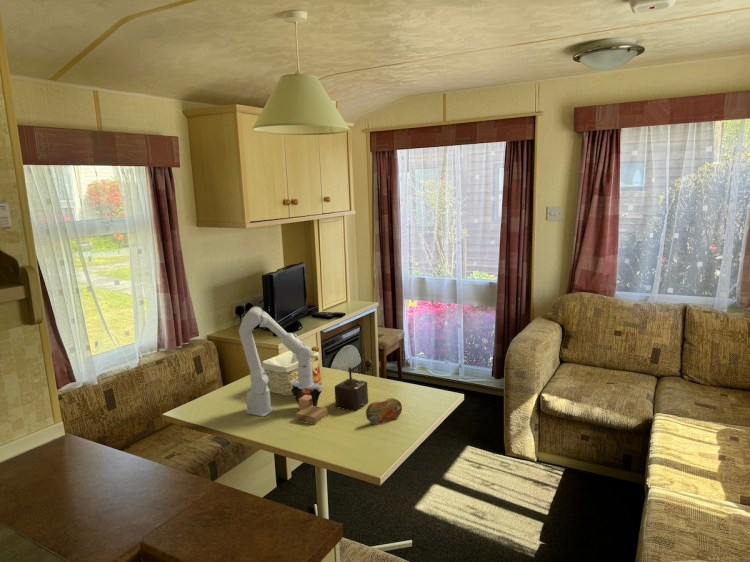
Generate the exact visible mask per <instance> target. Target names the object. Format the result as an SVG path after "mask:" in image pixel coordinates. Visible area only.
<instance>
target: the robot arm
mask: <svg viewBox="0 0 750 562" xmlns="http://www.w3.org/2000/svg"><path fill="white" fill-rule="evenodd" d="M258 325H259V328H268V329H269V330H270V331H271V332H273V333H274V334H275V335H276V336H277V337H278V338H279V339H281V341H282V342H281V343H282V345H284V346H285V347H286V348H287V349H288V351H291V352H293V353H294V354H296V358H297V359H298V375H299V382H294V381H293V382H291V383H290V385H291V387H293V389H291V391H292V393H293V395H294V397H295V400H296V402H297V405H298V406H299V398H301V397H302V389H311V390H313V391H312V392H310V394H311V396H312V402H313V406H317V407H318V401H319V398H320V396H319V395H320V393H321V391H322V390H323V384H322V385H318V384H315V383H313V377H312V363H311V351H312V349H311V347H310V345H309V344H307V343H305V342H303V341H302V340H300V339H299V338H298V335H297V334H296V333H292V332H287V331H286V330H285V329H284V328H283V327H282V326H281V325H280V324H278V322H277V321H276V320H275V319H274V318H272V316H270V315H269V313H267V311H265V310H263V308H261V307H259V306H252V307H251V308H249V310H247V312H246V313H245V315H244V316H243V317H242V318H241V323H240V325H239V328H238V335H239V338H240V341H241V345H242V348H243V351H244V355H245V359H246V362H247V365H248V368H249V373H250V390H249V391H248V392H247V393H246V397H245V398H246V399H245V400H246V409H247V410H246V412H245V413H246V414H249V415H253V416H257V417H265V416H268V415H269V414H271V413H272V412H274V411H276V407H272V404H271V392H270V391H269V388H268V386H267V384H268V382H269V377H268V376H267V374H266V373H265V371H264V369H263V366H262V362H261V359H260V356H259V352H258V350H257V346H256V342H255V338H254V334H253V330H254V329H255V328H256V327H257V326H258Z"/></svg>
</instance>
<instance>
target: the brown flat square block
mask: <svg viewBox="0 0 750 562" xmlns="http://www.w3.org/2000/svg"><path fill="white" fill-rule="evenodd" d="M326 415H327V416H328V408H327V407H321V406H318V405H317V406H311V405H308V406H307V407H305V408H303V409H302V410H299V411H297V412H295V421H296V422H300V421H301V423H305V422H307V423H306V424H310V423H312V424H311V425H317V424H318V423H319V422H320V421H322V420H323V419H325V418H326V417H327V416H326ZM325 416H326V417H325ZM324 417H325V418H324ZM322 418H323V419H322ZM321 419H322V420H321ZM318 421H319V422H318ZM317 422H318V423H317Z"/></svg>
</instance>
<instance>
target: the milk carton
mask: <svg viewBox="0 0 750 562" xmlns="http://www.w3.org/2000/svg"><path fill="white" fill-rule="evenodd" d="M318 357H319V358H320V355H319V356H316V355H311V363H312V377H313V383H315V384H318V385H322V386H323V382H322V380H323V379H322V375H321V374H322V373H321V369H320V368H321V367H320V360H319V361H318ZM298 382H299V381H298ZM312 391H313V390H311V389H302V397H303V396H304V395H310V396H311V394H310V392H312ZM321 394H323V389H322V391H321V393H320V395H321ZM320 395H319V397H321V396H322V395H321V396H320Z"/></svg>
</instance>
